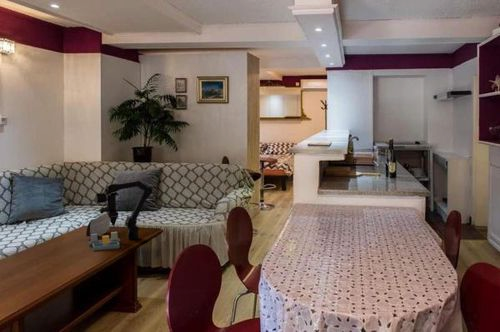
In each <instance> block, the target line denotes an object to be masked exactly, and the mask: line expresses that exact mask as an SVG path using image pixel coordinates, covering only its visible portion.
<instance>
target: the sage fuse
mask: <svg viewBox="0 0 500 332" xmlns="http://www.w3.org/2000/svg"><path fill="white" fill-rule="evenodd" d="M118 236H119V234H118V231H111V232H110V239H111V240H112V241H114V240H118V238H119V237H118Z"/></svg>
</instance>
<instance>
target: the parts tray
mask: <svg viewBox="0 0 500 332" xmlns="http://www.w3.org/2000/svg"><path fill="white" fill-rule="evenodd" d="M120 245H121V244H119V243H118V241H111V242H109V245H106V246H103V243H102V242H101V243H93V246H92V251H93V252H96V251H105V250H108V251H109V250H116V249H120Z"/></svg>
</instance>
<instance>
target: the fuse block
mask: <svg viewBox="0 0 500 332" xmlns="http://www.w3.org/2000/svg"><path fill="white" fill-rule="evenodd" d="M111 241H112V240H111V238H109V242H111ZM114 241H118V243H119V245H121V239H120V238H119V237H118V240H114ZM101 242H102V239H98V242H94V243H101ZM87 243H88V246H89V247H90V248H91V247H93V243H91V240H89V241H88V242H87Z"/></svg>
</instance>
